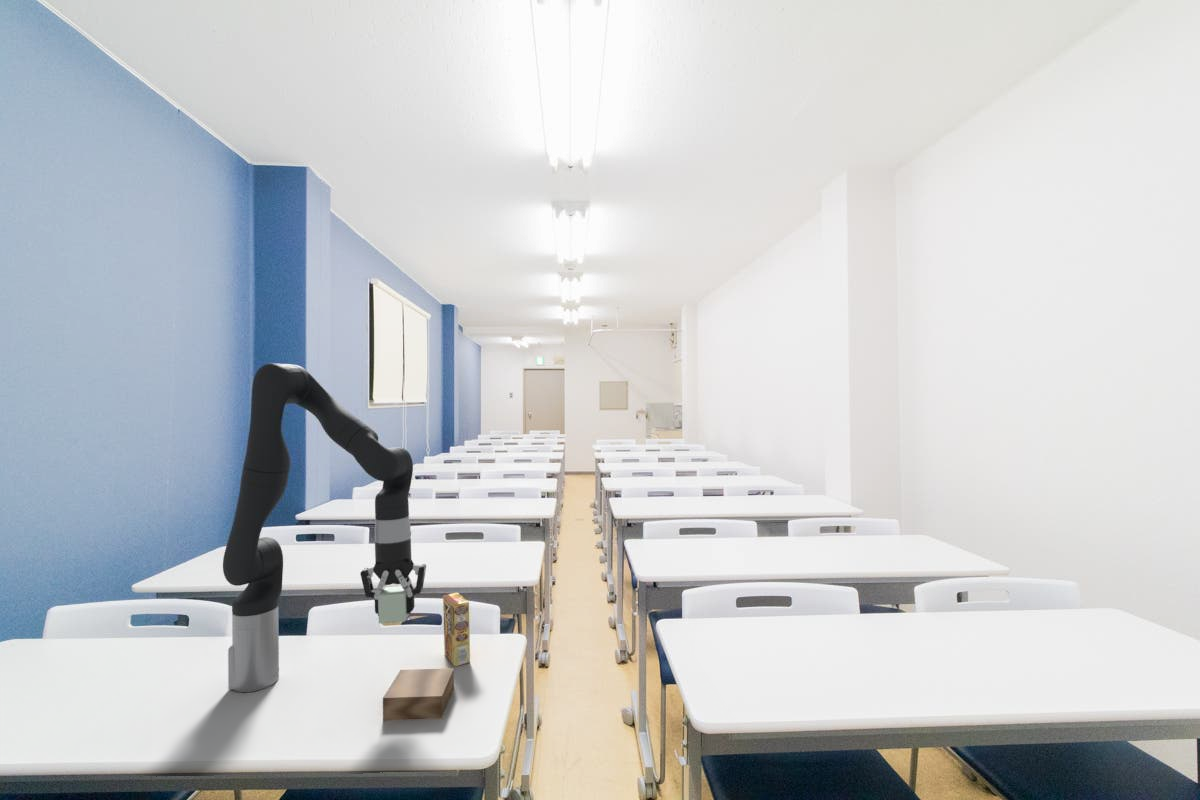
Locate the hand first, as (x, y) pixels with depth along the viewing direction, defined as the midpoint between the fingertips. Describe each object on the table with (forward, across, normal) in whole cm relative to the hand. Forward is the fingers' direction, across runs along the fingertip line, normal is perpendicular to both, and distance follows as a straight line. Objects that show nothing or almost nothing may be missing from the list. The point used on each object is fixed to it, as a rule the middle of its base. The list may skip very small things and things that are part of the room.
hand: (395, 613), depth 124 cm
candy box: (+19, +11, +17) cm, 27 cm away
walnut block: (+19, +6, -4) cm, 20 cm away
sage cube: (+1, 0, 0) cm, 1 cm away
